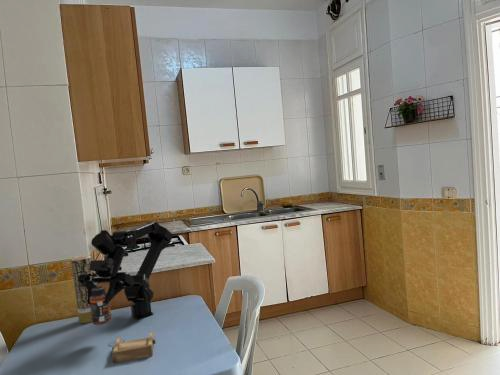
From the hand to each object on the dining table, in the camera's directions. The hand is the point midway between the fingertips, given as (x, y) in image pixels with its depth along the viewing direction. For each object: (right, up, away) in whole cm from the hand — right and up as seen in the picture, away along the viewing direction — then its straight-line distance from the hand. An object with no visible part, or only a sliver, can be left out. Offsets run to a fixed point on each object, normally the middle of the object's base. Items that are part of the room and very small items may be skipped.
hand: (97, 303), depth 123 cm
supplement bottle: (+1, -7, +2) cm, 7 cm away
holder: (+15, -12, -8) cm, 21 cm away
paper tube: (-13, -14, +24) cm, 30 cm away
